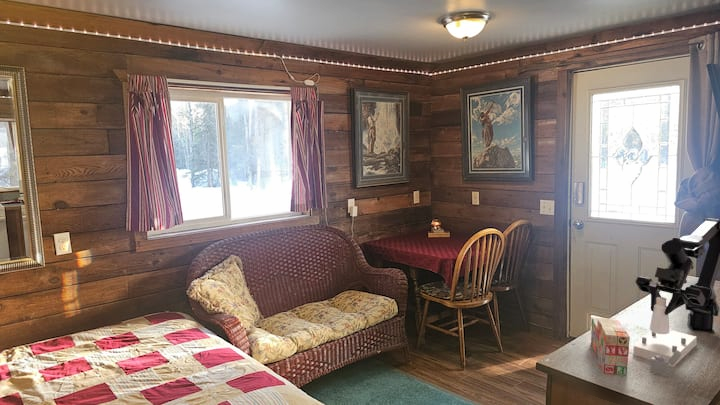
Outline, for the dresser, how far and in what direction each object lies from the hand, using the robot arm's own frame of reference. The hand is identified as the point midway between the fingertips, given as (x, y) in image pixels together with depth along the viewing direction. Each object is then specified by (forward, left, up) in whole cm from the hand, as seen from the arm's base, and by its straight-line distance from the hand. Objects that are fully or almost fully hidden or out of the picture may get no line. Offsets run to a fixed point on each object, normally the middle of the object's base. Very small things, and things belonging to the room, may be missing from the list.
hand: (658, 312), depth 151 cm
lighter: (+1, +16, -13) cm, 21 cm away
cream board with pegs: (-3, -2, -13) cm, 14 cm away
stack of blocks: (+15, +9, -13) cm, 22 cm away
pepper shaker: (-1, -1, -7) cm, 7 cm away
